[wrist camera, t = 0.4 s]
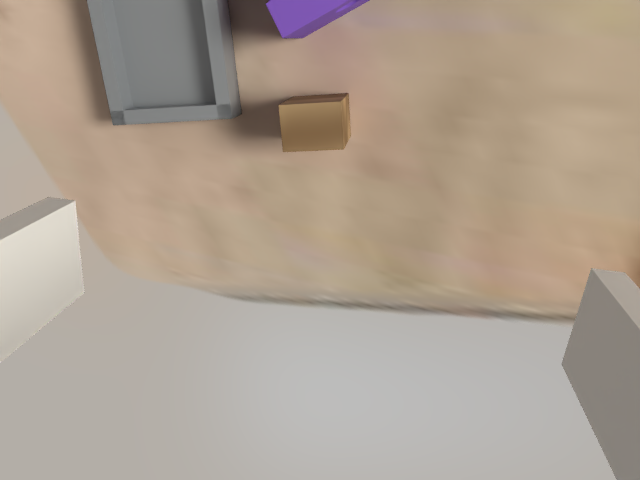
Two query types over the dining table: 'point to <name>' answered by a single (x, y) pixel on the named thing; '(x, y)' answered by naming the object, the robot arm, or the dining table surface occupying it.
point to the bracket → (307, 14)
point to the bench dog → (315, 122)
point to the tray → (166, 59)
